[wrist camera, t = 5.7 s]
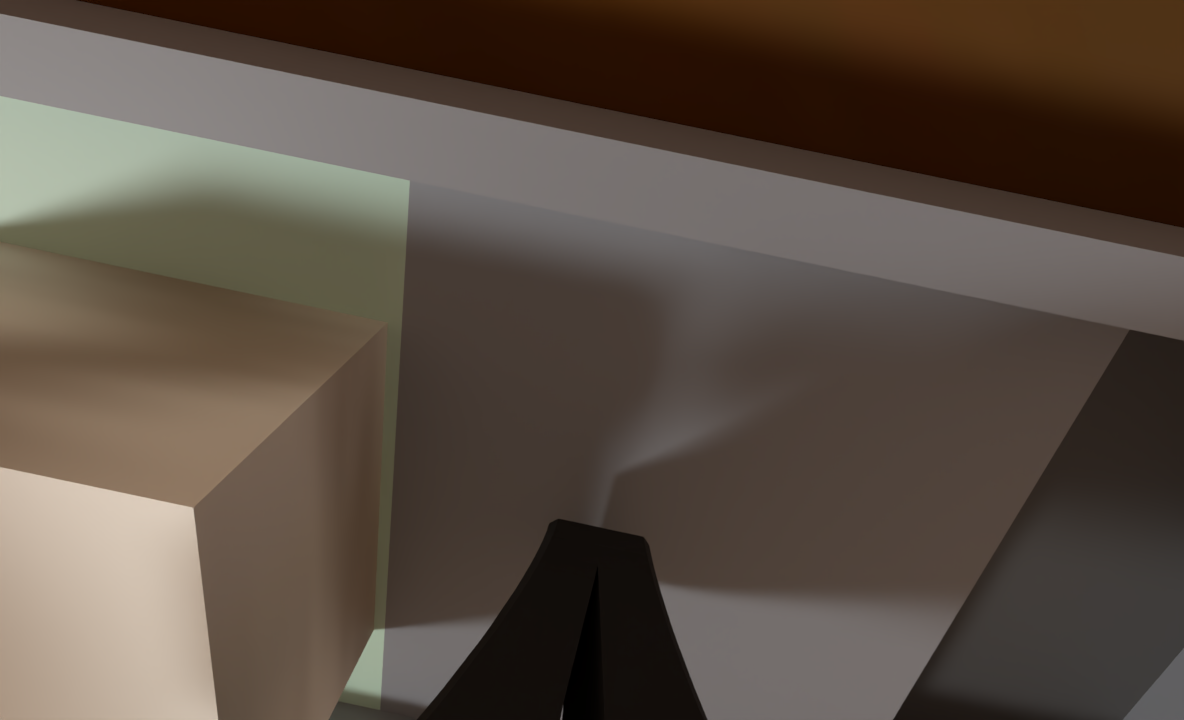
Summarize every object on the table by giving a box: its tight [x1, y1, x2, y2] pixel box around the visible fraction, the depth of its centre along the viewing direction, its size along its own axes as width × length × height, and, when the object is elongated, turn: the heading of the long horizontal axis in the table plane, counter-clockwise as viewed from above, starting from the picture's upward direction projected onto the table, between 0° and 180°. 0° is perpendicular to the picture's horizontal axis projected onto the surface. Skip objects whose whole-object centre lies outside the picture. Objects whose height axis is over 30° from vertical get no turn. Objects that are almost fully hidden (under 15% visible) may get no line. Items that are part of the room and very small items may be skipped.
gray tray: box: [0, 0, 1184, 720], centre depth 10 cm, size 30×12×4 cm, turn 80°
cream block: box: [0, 242, 388, 720], centre depth 8 cm, size 6×6×4 cm
